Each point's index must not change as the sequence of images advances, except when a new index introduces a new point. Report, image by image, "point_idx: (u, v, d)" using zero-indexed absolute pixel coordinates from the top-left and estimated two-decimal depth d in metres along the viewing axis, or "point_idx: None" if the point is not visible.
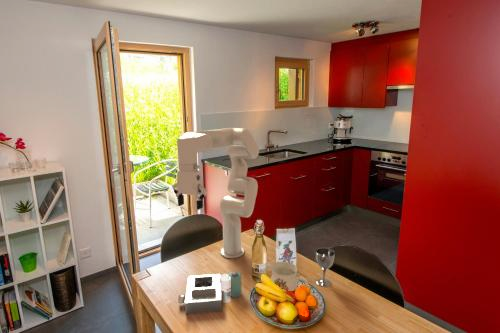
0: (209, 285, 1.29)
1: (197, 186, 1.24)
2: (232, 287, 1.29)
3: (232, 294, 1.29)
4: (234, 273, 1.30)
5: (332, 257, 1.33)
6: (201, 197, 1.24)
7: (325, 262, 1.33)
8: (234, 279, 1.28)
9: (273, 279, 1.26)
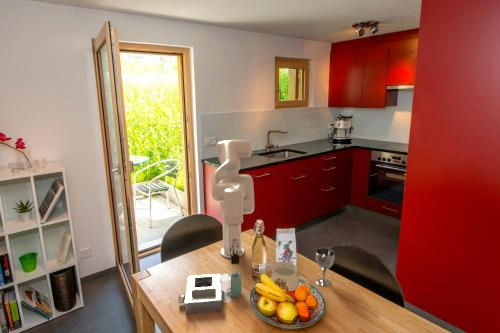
0: (209, 285, 1.29)
1: None
2: (232, 287, 1.29)
3: (232, 294, 1.29)
4: (234, 273, 1.30)
5: (332, 257, 1.33)
6: None
7: (325, 262, 1.33)
8: (234, 279, 1.28)
9: (273, 279, 1.26)
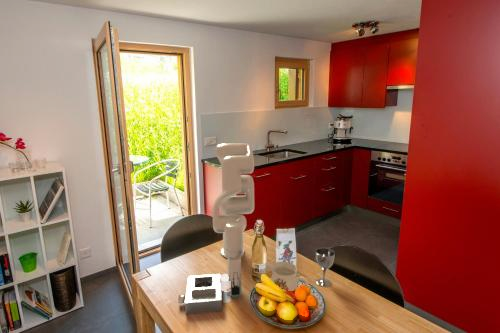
0: (209, 285, 1.29)
1: None
2: None
3: None
4: None
5: (332, 257, 1.33)
6: None
7: (325, 262, 1.33)
8: None
9: (273, 279, 1.26)
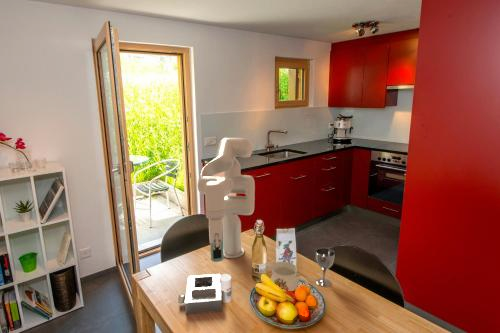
0: (209, 285, 1.29)
1: None
2: None
3: None
4: None
5: (332, 257, 1.33)
6: None
7: (325, 262, 1.33)
8: None
9: (273, 279, 1.26)
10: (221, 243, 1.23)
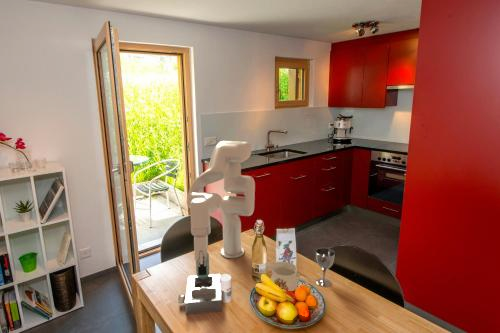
0: (209, 285, 1.29)
1: None
2: None
3: None
4: None
5: (332, 257, 1.33)
6: None
7: (325, 262, 1.33)
8: None
9: (273, 279, 1.26)
10: (206, 260, 1.24)
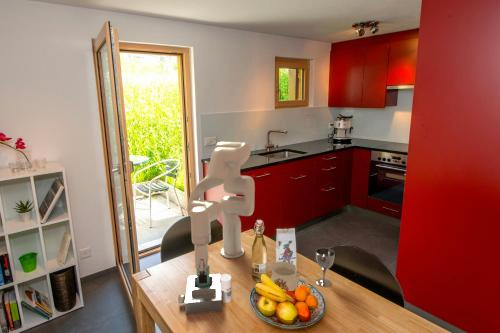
0: None
1: None
2: None
3: (200, 287, 1.26)
4: None
5: (332, 257, 1.33)
6: None
7: (325, 262, 1.33)
8: None
9: (273, 279, 1.26)
10: (207, 273, 1.25)
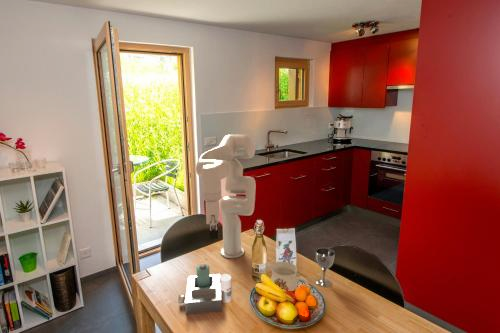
0: None
1: None
2: (200, 280, 1.25)
3: (200, 287, 1.26)
4: (202, 266, 1.26)
5: (332, 257, 1.33)
6: None
7: (325, 262, 1.33)
8: (201, 272, 1.24)
9: (273, 279, 1.26)
10: (207, 273, 1.25)
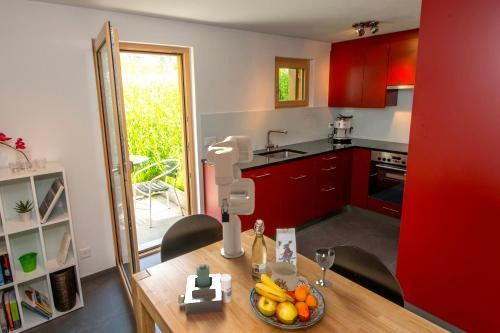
0: None
1: None
2: (200, 280, 1.25)
3: (200, 287, 1.26)
4: (202, 266, 1.26)
5: (332, 257, 1.33)
6: None
7: (325, 262, 1.33)
8: (201, 272, 1.24)
9: (273, 279, 1.26)
10: (207, 273, 1.25)
